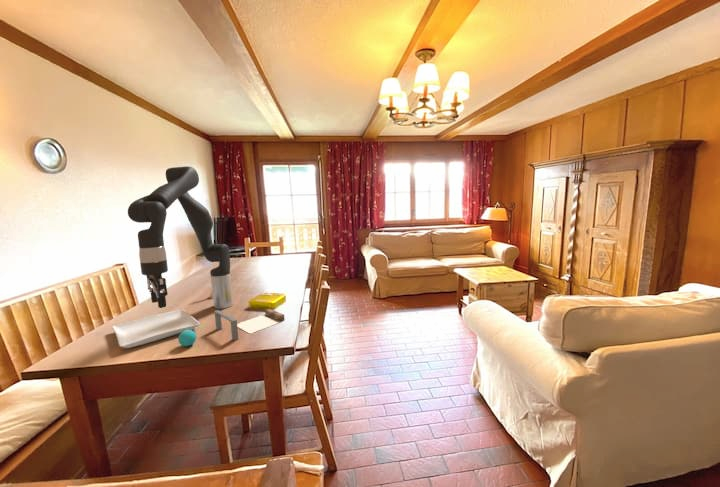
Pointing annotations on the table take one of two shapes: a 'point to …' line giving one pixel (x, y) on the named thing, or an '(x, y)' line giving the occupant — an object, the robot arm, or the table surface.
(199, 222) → the robot arm
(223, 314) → the grey u-shaped frame
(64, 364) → the table surface
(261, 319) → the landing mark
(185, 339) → the ball
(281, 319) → the stopper
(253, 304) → the element tile
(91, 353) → the table surface
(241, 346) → the table surface
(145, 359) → the table surface
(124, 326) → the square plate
